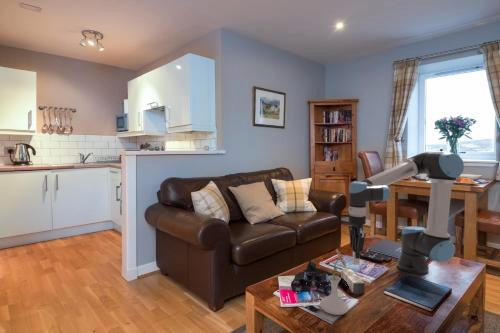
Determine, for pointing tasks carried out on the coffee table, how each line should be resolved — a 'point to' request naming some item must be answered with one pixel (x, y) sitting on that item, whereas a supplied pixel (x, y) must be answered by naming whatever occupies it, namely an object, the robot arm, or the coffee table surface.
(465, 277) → the coffee table surface
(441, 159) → the robot arm
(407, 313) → the coffee table surface
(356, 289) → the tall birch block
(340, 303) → the flower in vase
